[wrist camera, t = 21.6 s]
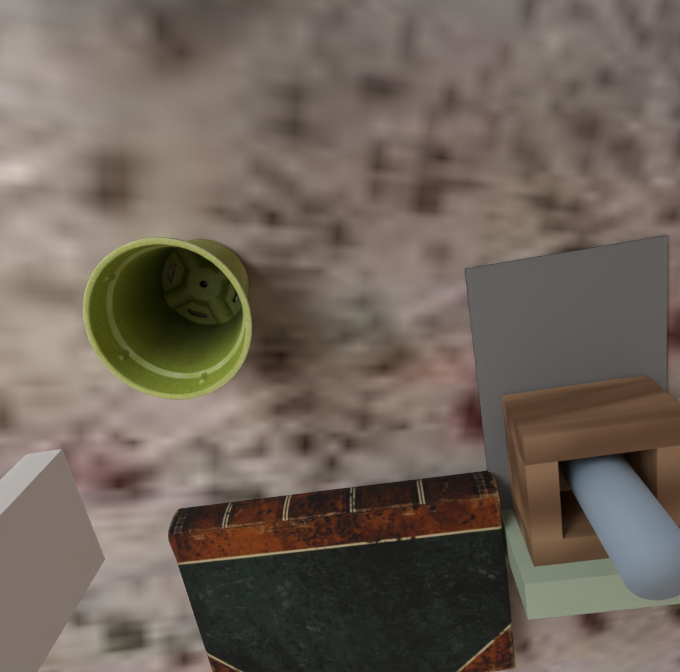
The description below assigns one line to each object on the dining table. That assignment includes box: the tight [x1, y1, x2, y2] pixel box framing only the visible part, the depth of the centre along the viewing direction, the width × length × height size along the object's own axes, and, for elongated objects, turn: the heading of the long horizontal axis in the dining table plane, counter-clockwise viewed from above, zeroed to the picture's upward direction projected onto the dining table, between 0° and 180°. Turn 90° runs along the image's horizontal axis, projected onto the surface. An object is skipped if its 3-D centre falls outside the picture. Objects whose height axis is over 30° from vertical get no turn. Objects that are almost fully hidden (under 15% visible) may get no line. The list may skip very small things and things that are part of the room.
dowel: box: [558, 453, 680, 600], centre depth 36 cm, size 4×4×12 cm
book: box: [168, 471, 516, 672], centre depth 47 cm, size 17×4×25 cm
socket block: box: [502, 375, 680, 567], centre depth 40 cm, size 10×10×6 cm
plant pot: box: [83, 237, 252, 400], centre depth 36 cm, size 9×9×9 cm
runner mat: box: [465, 236, 668, 510], centre depth 41 cm, size 20×13×1 cm, turn 10°
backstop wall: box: [501, 509, 680, 620], centre depth 42 cm, size 3×12×8 cm, turn 100°
